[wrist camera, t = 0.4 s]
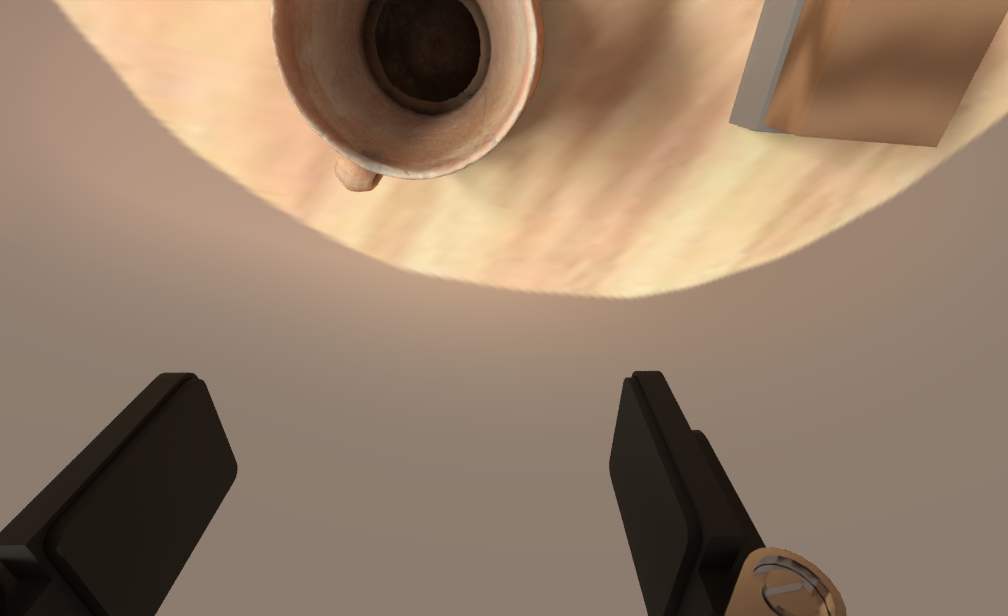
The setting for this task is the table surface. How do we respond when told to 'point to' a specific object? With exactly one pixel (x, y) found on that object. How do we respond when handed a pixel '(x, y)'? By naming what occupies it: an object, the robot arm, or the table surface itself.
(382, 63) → the ceramic jug
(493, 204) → the table surface
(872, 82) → the tower top block
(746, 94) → the tower base block
